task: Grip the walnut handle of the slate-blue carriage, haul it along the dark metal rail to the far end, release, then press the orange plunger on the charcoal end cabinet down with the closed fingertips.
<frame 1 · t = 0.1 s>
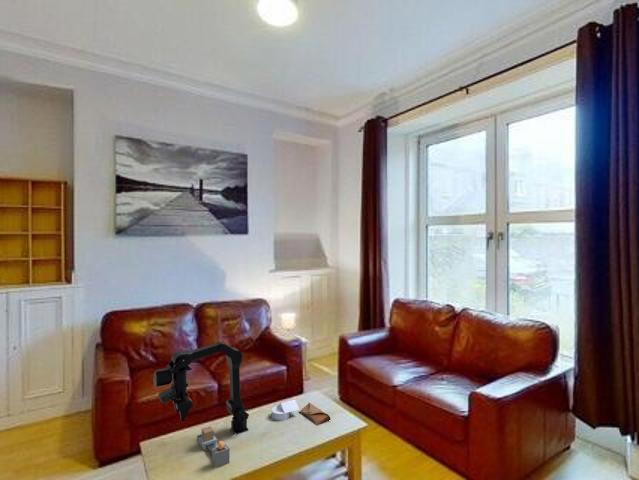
hand: (179, 416, 162), 14 cm above the table, fingers open, 9 cm apart
carriage: (207, 437, 166), point 4 cm above the table, slide at 0.0 cm
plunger: (220, 446, 153), point 7 cm above the table, slide at 0.0 cm
wedge on round base: (284, 415, 194), on the table
rail: (210, 448, 164), on the table
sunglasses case: (313, 417, 193), on the table
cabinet: (220, 462, 153), on the table
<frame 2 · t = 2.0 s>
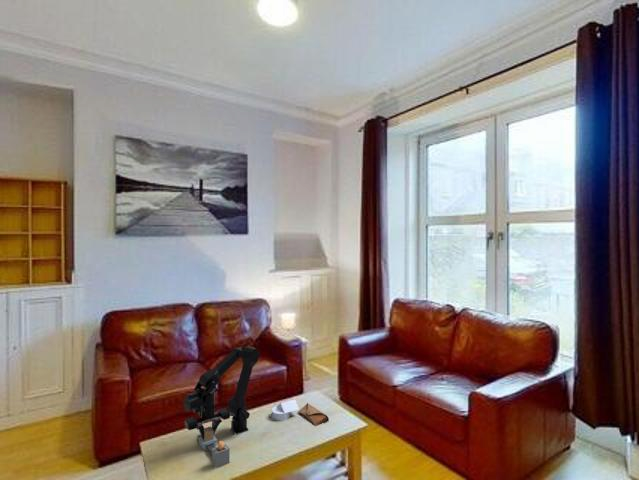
hand: (207, 437, 166), 4 cm above the table, fingers closed on carriage, 4 cm apart
carriage: (207, 437, 166), point 4 cm above the table, slide at 0.0 cm, touching gripper
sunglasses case: (311, 418, 192), on the table
everything else where it was.
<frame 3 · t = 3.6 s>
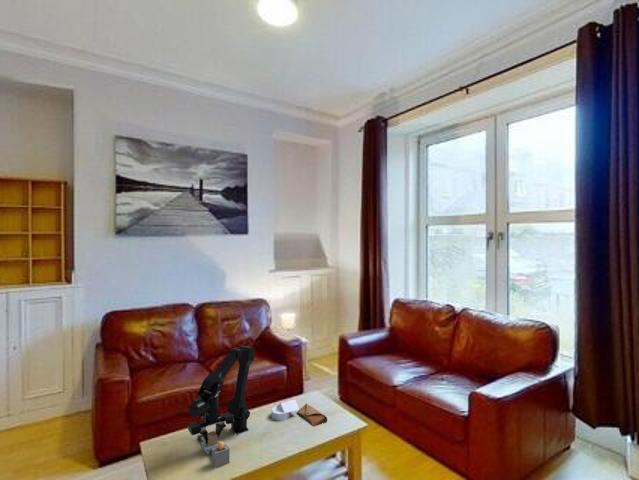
hand: (211, 442, 162), 4 cm above the table, fingers closed on carriage, 4 cm apart
carriage: (211, 441, 162), point 4 cm above the table, slide at 4.6 cm, touching gripper
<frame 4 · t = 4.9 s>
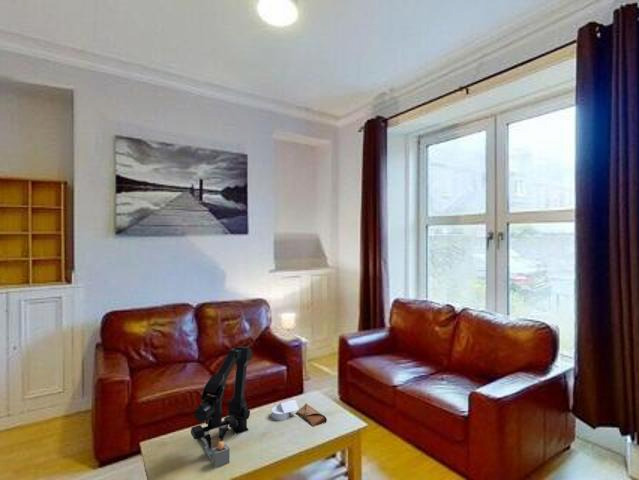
hand: (214, 446, 159), 4 cm above the table, fingers closed on carriage, 4 cm apart
carriage: (214, 446, 159), point 4 cm above the table, slide at 8.4 cm, touching gripper
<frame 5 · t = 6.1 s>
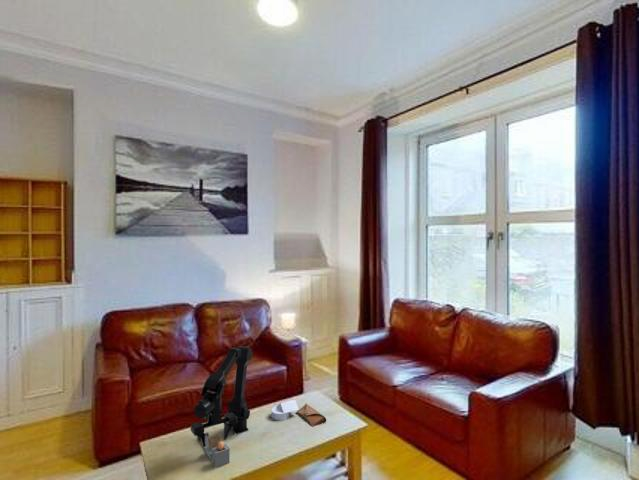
hand: (214, 443, 159), 5 cm above the table, fingers open, 9 cm apart
carriage: (214, 446, 159), point 4 cm above the table, slide at 8.5 cm
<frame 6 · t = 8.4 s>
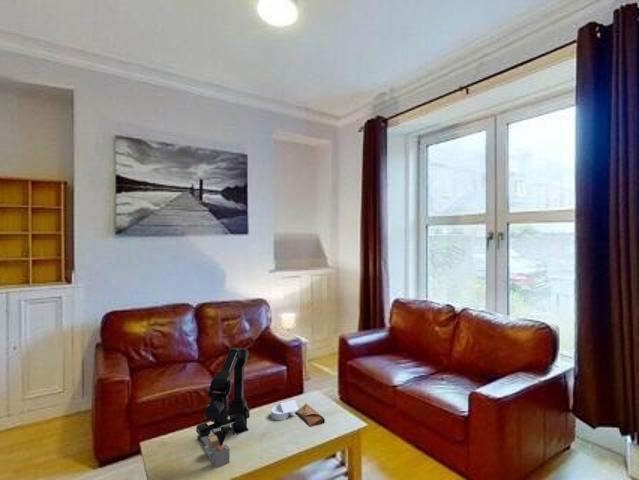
hand: (220, 444, 153), 8 cm above the table, fingers closed, pressing on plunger
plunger: (220, 448, 153), point 6 cm above the table, slide at 0.9 cm, touching gripper
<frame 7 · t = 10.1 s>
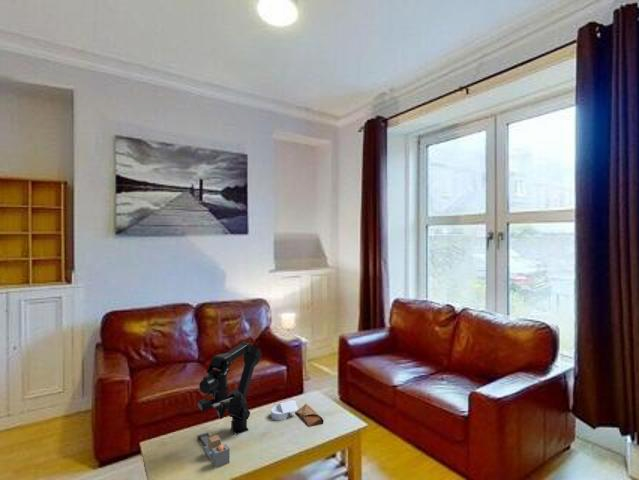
hand: (220, 418, 166), 12 cm above the table, fingers closed
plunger: (220, 449, 153), point 5 cm above the table, slide at 1.5 cm
wedge on round base: (283, 415, 194), on the table, touching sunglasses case
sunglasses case: (308, 418, 191), on the table, touching wedge on round base
everything else where it was.
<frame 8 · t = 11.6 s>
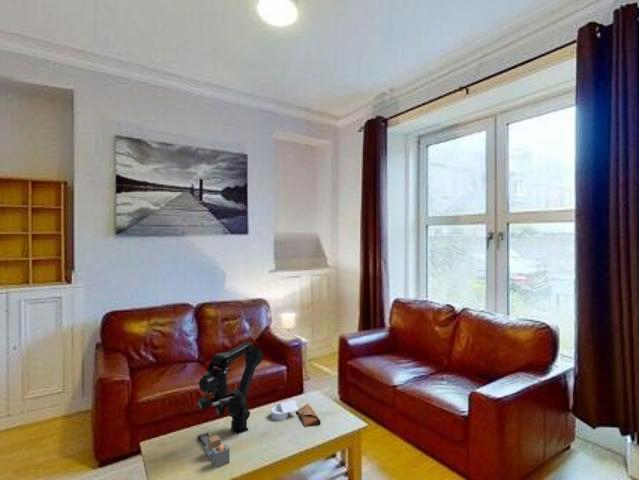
hand: (220, 417, 167), 12 cm above the table, fingers closed
wedge on round base: (283, 415, 194), on the table
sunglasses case: (307, 419, 191), on the table
everything else where it was.
at the end: carriage slide at 8.5 cm; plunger slide at 1.5 cm; the gripper is holding nothing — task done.
